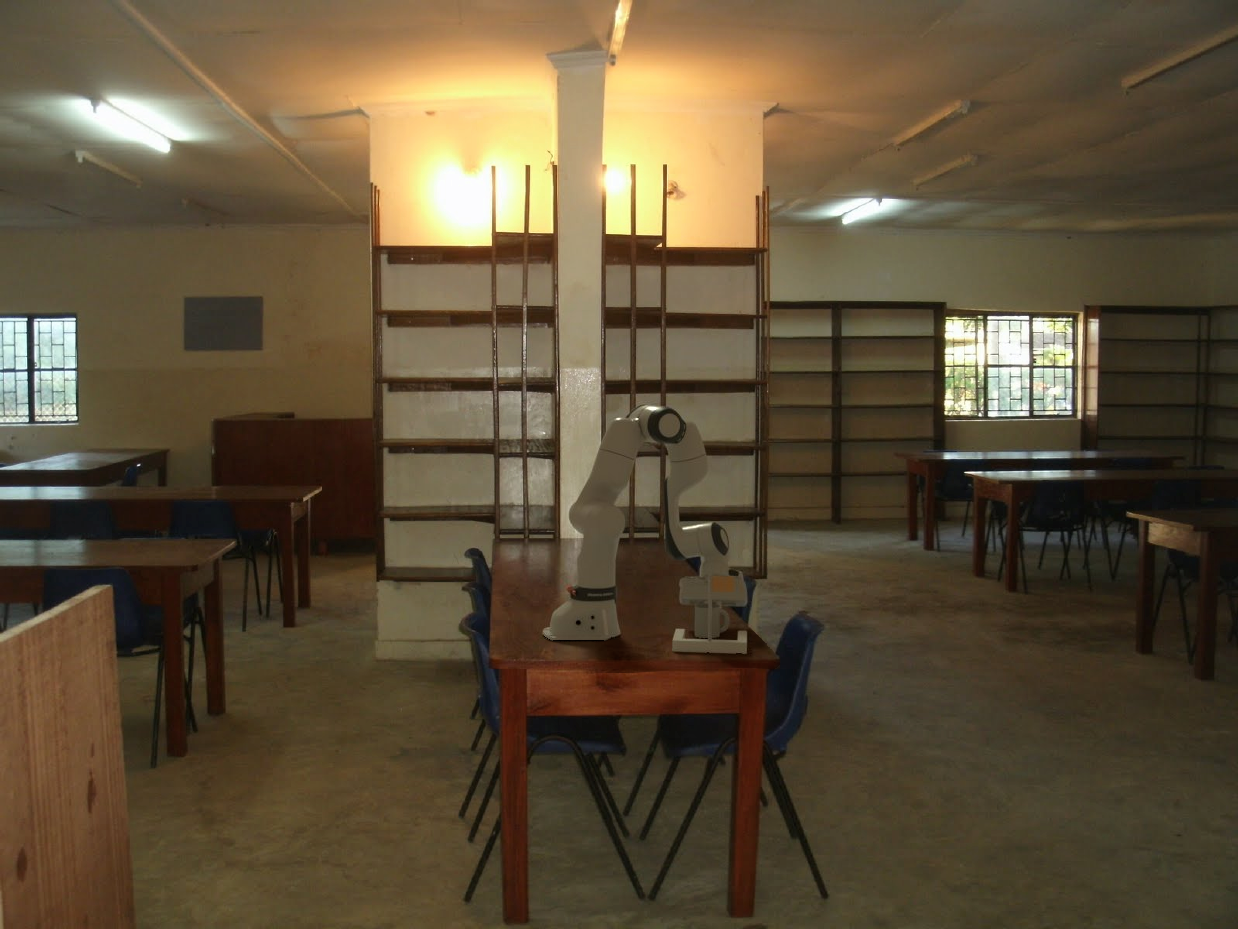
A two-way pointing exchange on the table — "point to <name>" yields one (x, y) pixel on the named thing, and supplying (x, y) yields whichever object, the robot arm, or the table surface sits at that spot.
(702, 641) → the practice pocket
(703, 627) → the cup
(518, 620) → the table surface
